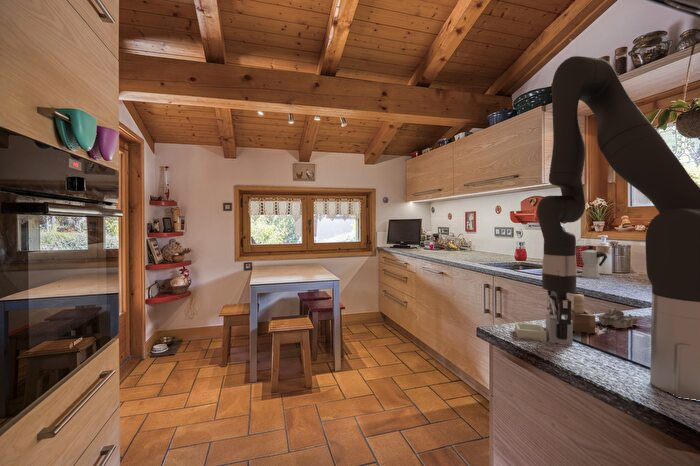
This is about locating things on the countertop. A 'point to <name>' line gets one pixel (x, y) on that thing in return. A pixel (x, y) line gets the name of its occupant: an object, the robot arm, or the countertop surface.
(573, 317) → the bore block
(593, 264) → the coffee maker
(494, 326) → the countertop surface
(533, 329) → the tray
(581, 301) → the tan wooden peg
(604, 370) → the countertop surface
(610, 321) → the grey lumpy piece
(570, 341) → the off-white square block
